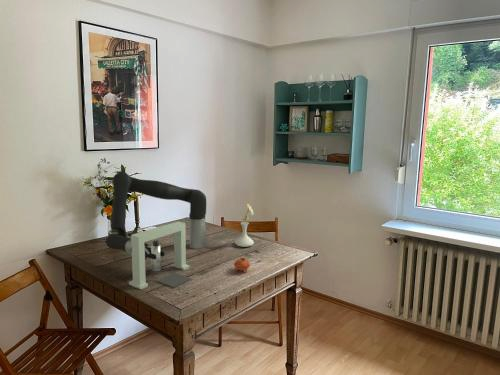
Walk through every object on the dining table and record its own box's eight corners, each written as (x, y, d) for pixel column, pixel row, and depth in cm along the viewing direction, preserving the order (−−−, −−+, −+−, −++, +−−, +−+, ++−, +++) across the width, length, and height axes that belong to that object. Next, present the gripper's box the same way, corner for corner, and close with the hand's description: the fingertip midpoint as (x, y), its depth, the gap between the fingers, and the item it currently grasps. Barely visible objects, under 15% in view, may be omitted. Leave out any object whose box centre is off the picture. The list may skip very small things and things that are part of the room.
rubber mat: (156, 281, 164) (156, 280, 164) (174, 273, 173) (174, 272, 173) (173, 288, 158) (173, 287, 158) (191, 279, 167) (191, 278, 167)
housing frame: (128, 284, 160) (126, 234, 156) (178, 263, 185) (177, 220, 181) (140, 289, 156) (138, 238, 152) (189, 267, 180) (189, 223, 176)
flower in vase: (247, 249, 207) (248, 207, 203) (230, 246, 213) (231, 205, 209) (258, 243, 219) (259, 203, 214) (242, 240, 224) (243, 201, 220)
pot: (254, 269, 179) (252, 257, 177) (243, 277, 174) (242, 265, 171) (242, 264, 184) (240, 253, 182) (231, 272, 179) (230, 260, 177)
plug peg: (160, 267, 175) (159, 239, 172) (161, 270, 171) (161, 242, 168) (150, 268, 173) (150, 240, 170) (152, 271, 169) (151, 243, 166)
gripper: (124, 244, 172) (147, 252, 162) (148, 237, 183) (171, 244, 174) (124, 259, 173) (148, 268, 164) (148, 251, 185) (171, 258, 175)
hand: (159, 255), depth 169 cm, fingers closed on plug peg, 4 cm apart
